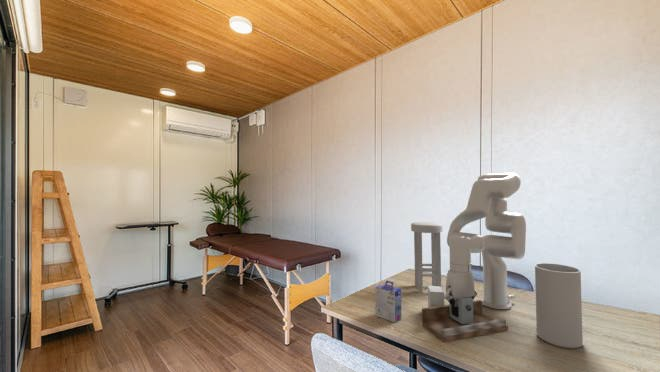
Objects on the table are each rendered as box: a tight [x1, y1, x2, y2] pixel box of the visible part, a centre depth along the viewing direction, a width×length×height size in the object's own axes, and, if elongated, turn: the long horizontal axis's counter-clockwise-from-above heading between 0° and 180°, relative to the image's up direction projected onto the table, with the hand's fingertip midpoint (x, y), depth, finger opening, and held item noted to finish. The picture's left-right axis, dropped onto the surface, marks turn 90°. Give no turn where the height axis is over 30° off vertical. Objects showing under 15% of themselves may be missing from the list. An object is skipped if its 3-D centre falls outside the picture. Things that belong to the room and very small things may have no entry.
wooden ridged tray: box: [421, 299, 509, 343], centre depth 108 cm, size 28×13×6 cm, turn 106°
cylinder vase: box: [534, 262, 584, 349], centre depth 99 cm, size 12×12×25 cm
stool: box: [410, 221, 444, 294], centre depth 152 cm, size 16×16×35 cm
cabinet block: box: [448, 296, 474, 324], centre depth 109 cm, size 5×8×9 cm, turn 17°
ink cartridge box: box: [374, 279, 403, 323], centre depth 118 cm, size 10×6×14 cm, turn 47°
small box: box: [427, 285, 445, 308], centre depth 121 cm, size 8×6×10 cm
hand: (461, 314), depth 110 cm, fingers closed on cabinet block, 4 cm apart
